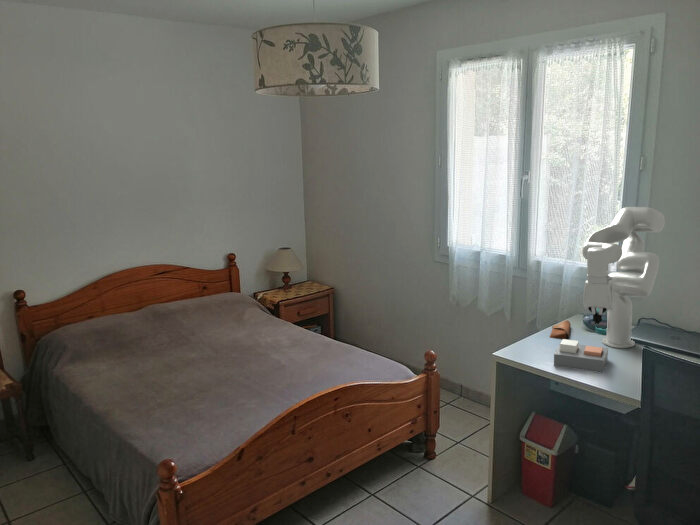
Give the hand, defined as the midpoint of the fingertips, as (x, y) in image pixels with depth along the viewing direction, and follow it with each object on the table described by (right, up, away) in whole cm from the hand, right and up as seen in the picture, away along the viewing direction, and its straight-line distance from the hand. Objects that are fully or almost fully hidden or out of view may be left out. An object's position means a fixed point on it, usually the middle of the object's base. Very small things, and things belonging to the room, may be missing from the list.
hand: (597, 322), depth 214 cm
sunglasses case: (0, -9, +37) cm, 38 cm away
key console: (-6, -16, +2) cm, 17 cm away
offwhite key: (-10, -12, +3) cm, 16 cm away
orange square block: (-2, -14, -1) cm, 14 cm away
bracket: (+21, -7, +39) cm, 45 cm away
